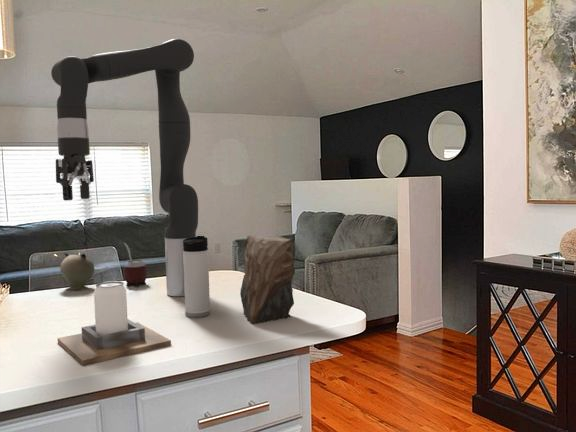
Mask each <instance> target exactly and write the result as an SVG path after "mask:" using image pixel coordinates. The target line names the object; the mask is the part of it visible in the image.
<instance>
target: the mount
mask: <svg viewBox="0 0 576 432" xmlns="http://www.w3.org/2000/svg"><path fill="white" fill-rule="evenodd" d="M127 319H128V330H125V331H120V332H115V333H111V334H106V335H99V334H98V333H96V324H92V325H86V326H82V327H81V333H77V334H73V335H66V336H61V337H57V343H58V344H59V346H61V347H62V348H63V349H64V350H65V351H66V352H67V353H69V354H70V356H72V357H73V358H74V359H75V360H76V361H77V362H78V363H80V365H82V366H87V365H91V364H95V363H96V364H97V363H99V362H105V361H108V360H109V361H110V360H113V359H116V358H122V357H125V356H126V357H127V356H128V355H129V356H130V355H133V354H139V353H142V352H147V351H152V350H154V349H160V348H163V347H168V346H169V347H170V346H172V340H171V339H169V338H167V337H165V336H164V335H162V334H160V333H158V332H156V331H154V330H153V329H151V328H149V327H148V326H145V325H144V324H142V323H139V322H134V321H132V320H130V319H129V318H127Z"/></svg>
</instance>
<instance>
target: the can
mask: <svg viewBox="0 0 576 432" xmlns="http://www.w3.org/2000/svg"><path fill="white" fill-rule="evenodd" d="M93 293H94V294H93V298H94V301H93V302H94V303H93V304H94V319H95V321H94V322H95V324H94V325H96V333H98V334H99V335H106V334H111V333H115V332H120V331H125V330H128V319H129V318H128V301H127V299H128V298H127V289H126V287H125V282H123V281H120V280H119V281H117V280H110V281H103V282H100V283H96V284H95V289H94V291H93Z"/></svg>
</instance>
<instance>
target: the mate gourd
mask: <svg viewBox="0 0 576 432" xmlns="http://www.w3.org/2000/svg"><path fill="white" fill-rule="evenodd" d="M123 245H124V246H125V247H126V251H127V252H128V257H129V258H128V259H129V260H128V261H126V263H125V264H124V278H125V281H126V284H125V285H126V287H132V286H134V287H135V288H138V287H139V286H142V285H146V284H147V282H146V280H147V273H148V272H147V271H148V268H147V265H146V262H145V261H144V260H143V259H132V254H131V248H130V247H129V245H128V244H127V243H126V242H123Z"/></svg>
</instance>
